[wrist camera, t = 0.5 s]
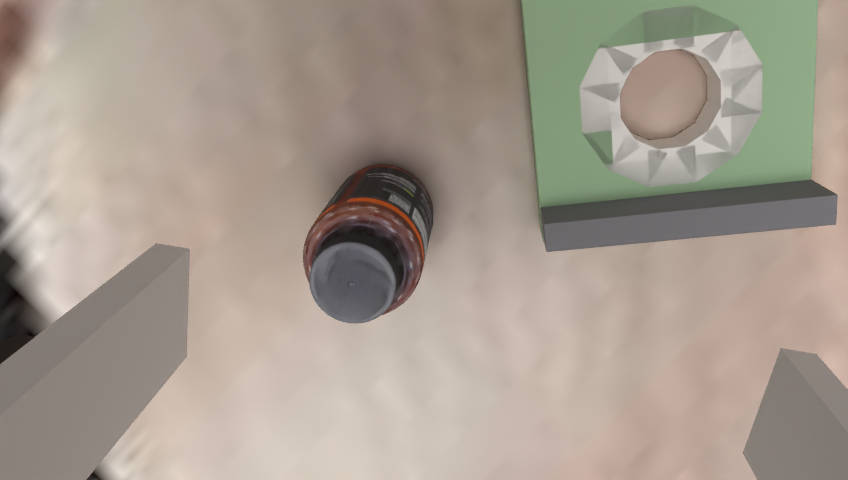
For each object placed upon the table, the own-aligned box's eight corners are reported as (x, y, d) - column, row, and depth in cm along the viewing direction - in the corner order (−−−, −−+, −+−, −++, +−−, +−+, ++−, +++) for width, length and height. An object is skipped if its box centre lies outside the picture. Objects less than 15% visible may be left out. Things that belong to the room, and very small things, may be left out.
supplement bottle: (334, 252, 43) (283, 336, 33) (337, 157, 42) (284, 214, 31) (431, 262, 43) (411, 350, 32) (439, 167, 41) (420, 227, 30)
